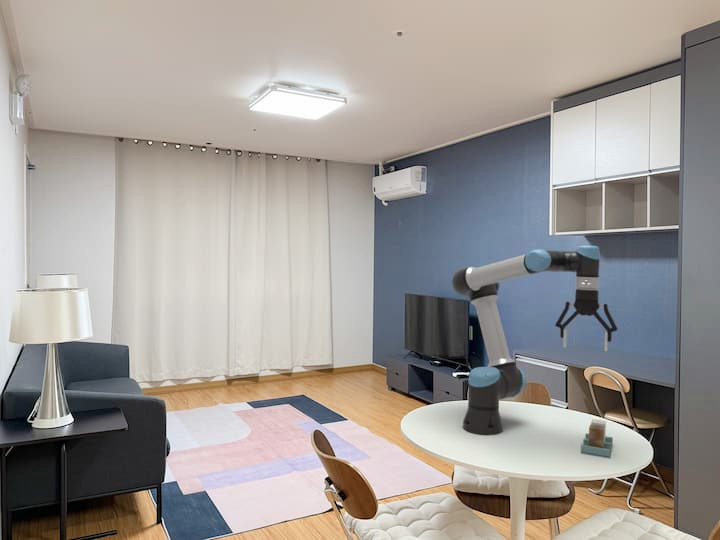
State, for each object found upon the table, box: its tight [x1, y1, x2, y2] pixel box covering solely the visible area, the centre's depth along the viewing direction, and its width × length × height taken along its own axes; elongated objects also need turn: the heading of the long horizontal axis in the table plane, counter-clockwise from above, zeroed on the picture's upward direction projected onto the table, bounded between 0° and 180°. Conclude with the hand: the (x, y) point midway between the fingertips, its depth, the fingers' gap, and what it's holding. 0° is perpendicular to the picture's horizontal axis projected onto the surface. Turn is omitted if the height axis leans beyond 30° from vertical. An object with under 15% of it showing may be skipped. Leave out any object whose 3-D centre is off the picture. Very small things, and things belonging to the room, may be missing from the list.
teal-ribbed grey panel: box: [580, 432, 614, 459], centre depth 193 cm, size 9×16×3 cm, turn 152°
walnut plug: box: [588, 424, 604, 448], centre depth 189 cm, size 4×4×8 cm
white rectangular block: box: [590, 418, 607, 442], centre depth 196 cm, size 4×4×8 cm
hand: (585, 349), depth 194 cm, fingers open, 13 cm apart
